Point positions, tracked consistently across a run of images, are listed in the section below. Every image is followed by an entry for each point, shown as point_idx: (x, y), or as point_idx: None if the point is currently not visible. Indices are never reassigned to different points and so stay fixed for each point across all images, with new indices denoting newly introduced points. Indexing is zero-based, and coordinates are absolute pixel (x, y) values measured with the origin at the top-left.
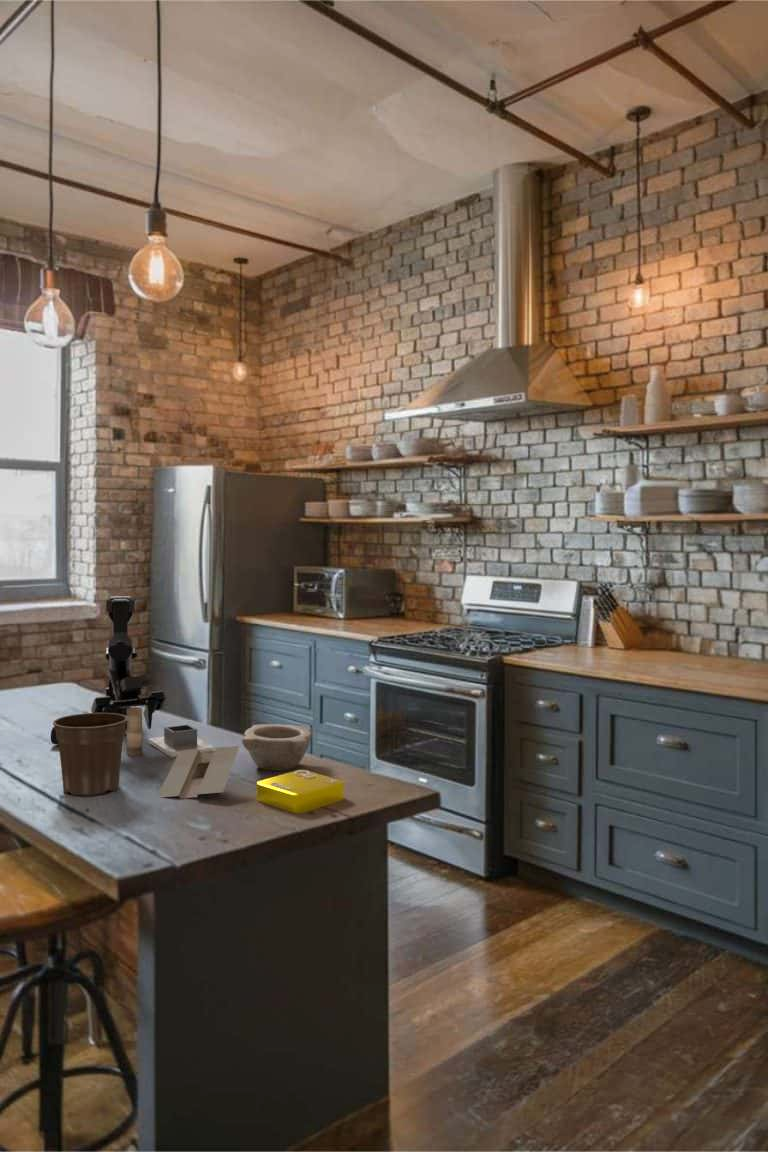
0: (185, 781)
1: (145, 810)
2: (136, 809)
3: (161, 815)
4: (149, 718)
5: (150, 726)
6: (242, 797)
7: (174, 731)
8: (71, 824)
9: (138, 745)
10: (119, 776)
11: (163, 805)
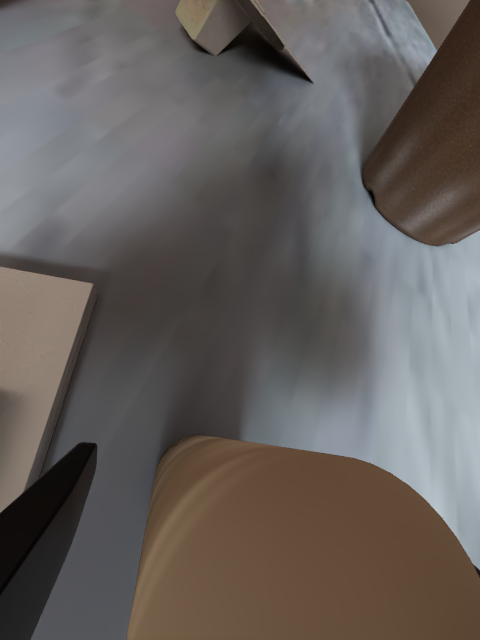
0: (268, 23)
1: (348, 62)
2: (359, 74)
3: (333, 38)
4: (19, 538)
5: (85, 444)
6: None
7: None
8: None
9: (199, 436)
10: (380, 139)
11: (317, 54)
